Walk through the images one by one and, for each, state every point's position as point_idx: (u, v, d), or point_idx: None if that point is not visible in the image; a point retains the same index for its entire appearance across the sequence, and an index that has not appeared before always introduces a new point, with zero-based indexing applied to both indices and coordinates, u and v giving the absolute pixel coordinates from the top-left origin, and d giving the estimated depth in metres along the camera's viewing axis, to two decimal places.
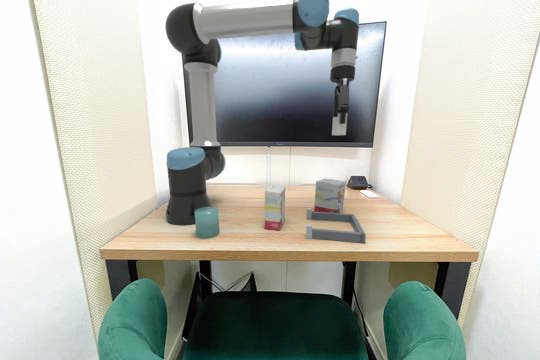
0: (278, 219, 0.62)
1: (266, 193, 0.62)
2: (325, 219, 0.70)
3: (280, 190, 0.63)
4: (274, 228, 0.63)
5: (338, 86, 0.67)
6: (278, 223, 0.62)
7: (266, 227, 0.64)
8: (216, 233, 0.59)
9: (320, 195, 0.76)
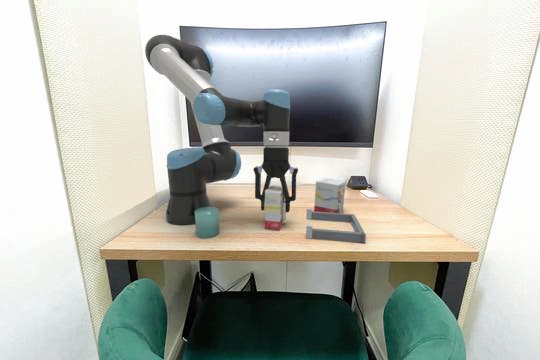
0: (278, 219, 0.62)
1: (266, 193, 0.62)
2: (325, 219, 0.70)
3: (280, 190, 0.63)
4: (274, 228, 0.63)
5: None
6: (278, 223, 0.62)
7: (266, 227, 0.64)
8: (216, 233, 0.59)
9: (320, 195, 0.76)
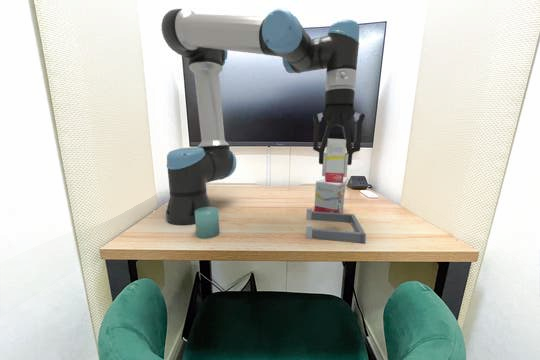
0: (342, 170, 0.56)
1: (329, 141, 0.55)
2: (325, 219, 0.70)
3: (343, 139, 0.57)
4: (337, 181, 0.57)
5: None
6: (342, 175, 0.56)
7: (327, 180, 0.57)
8: (216, 233, 0.59)
9: (320, 195, 0.76)
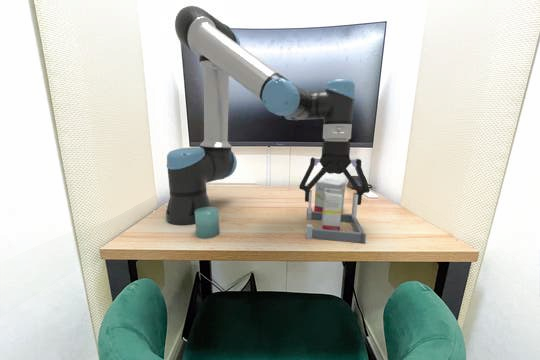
0: (339, 224, 0.59)
1: (327, 196, 0.58)
2: None
3: (339, 193, 0.60)
4: None
5: None
6: (338, 228, 0.59)
7: None
8: (216, 233, 0.59)
9: (320, 195, 0.76)
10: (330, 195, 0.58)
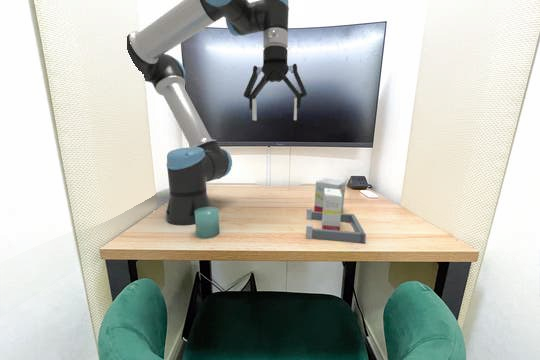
0: (338, 224, 0.59)
1: (327, 196, 0.58)
2: None
3: (339, 193, 0.60)
4: None
5: None
6: (338, 228, 0.59)
7: None
8: (216, 233, 0.59)
9: (320, 195, 0.76)
10: (330, 195, 0.58)
